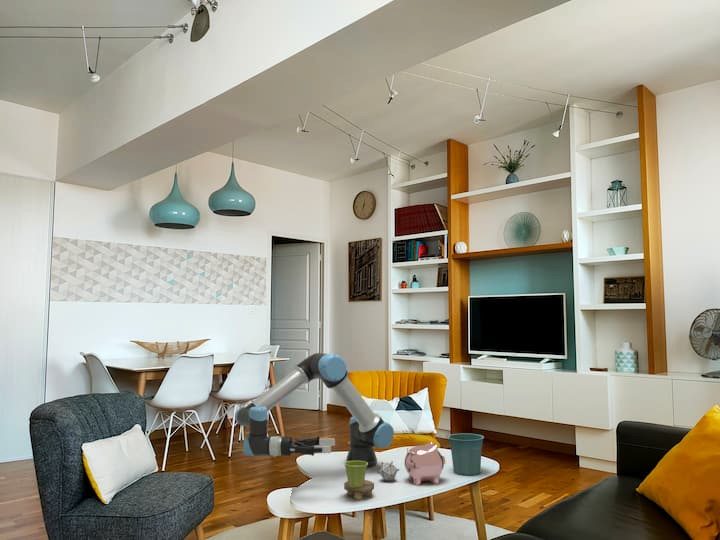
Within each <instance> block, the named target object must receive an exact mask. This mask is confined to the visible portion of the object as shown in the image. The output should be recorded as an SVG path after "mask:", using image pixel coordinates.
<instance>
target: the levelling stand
mask: <svg viewBox="0 0 720 540" xmlns="http://www.w3.org/2000/svg"><path fill="white" fill-rule="evenodd" d="M343 489H344V491H346V495H347V494H348V495H347V496H353V499H354V500H355V501H360V500H361V501H362V500H363V495H364V494H365V495H364V496H367V495H369V496H372V495H373V490H374V489H375V483H374V482H373V481H371V480H366V479H365V480H364V486H363V487H361V488H359V487H356V488H352V487H349V485H348V480H347V481H345V482H344V483H343Z"/></svg>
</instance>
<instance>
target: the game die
mask: <svg viewBox="0 0 720 540" xmlns="http://www.w3.org/2000/svg"><path fill="white" fill-rule="evenodd" d="M393 462H394V461H391V462H383V461H381V467H380V470H379V471H378V472H377V474H378V475H380V476H381V478H382V479H383V483H385V482H386V481H394V482H396V476H397V473H398V471H400V469H398V468H397V467H396V466H395V465H394V463H393Z"/></svg>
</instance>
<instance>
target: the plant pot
mask: <svg viewBox="0 0 720 540" xmlns="http://www.w3.org/2000/svg"><path fill="white" fill-rule="evenodd" d="M343 464H344V466H345V471H346V478H347V479H346V480H347V481H348V485H349V487H352V488H356V487H359V488H361V487H363V486H364V480H366V470H367V468H368V467H367V465H368V463H367V462H364V461H348V462H346V461H345V462H344V463H343Z"/></svg>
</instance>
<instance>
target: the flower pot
mask: <svg viewBox="0 0 720 540" xmlns="http://www.w3.org/2000/svg"><path fill="white" fill-rule="evenodd" d="M447 439H448V440H449V446H450V450H451V451H450V452H451V459H452V460H451V461H452V468H453V473H454V474H456V473H457V475H465V476H476V475H479V474H480V473H481V469H482V468H481V466H482V465H481V463H482V447H483V441H484V439H485V437H484V435H482V434H476V433H467V432H466V433H451V434H449V435H448V436H447Z"/></svg>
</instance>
